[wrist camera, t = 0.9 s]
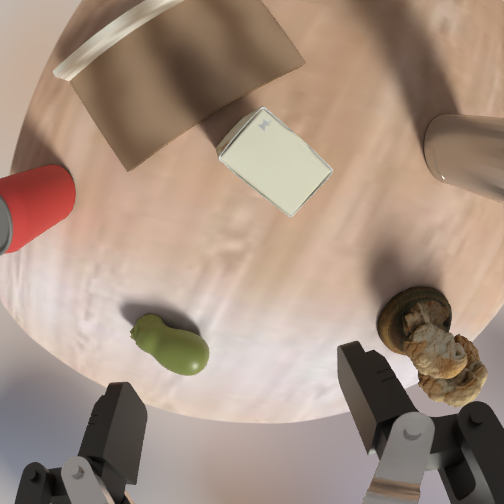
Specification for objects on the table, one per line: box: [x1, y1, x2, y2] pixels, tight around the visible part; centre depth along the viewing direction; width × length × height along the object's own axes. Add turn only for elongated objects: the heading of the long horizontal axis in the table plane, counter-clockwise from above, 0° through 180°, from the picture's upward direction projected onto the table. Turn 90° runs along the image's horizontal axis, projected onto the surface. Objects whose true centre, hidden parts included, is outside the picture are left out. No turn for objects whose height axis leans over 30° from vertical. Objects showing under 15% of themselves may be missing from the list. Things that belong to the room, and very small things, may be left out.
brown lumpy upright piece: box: [378, 287, 488, 407], centre depth 32 cm, size 18×12×17 cm, turn 63°
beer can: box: [0, 164, 76, 255], centre depth 21 cm, size 7×7×12 cm
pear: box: [130, 314, 209, 376], centre depth 33 cm, size 6×5×10 cm
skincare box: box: [216, 107, 333, 217], centre depth 22 cm, size 6×4×12 cm
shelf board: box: [53, 0, 306, 172], centre depth 21 cm, size 20×13×5 cm, turn 122°
